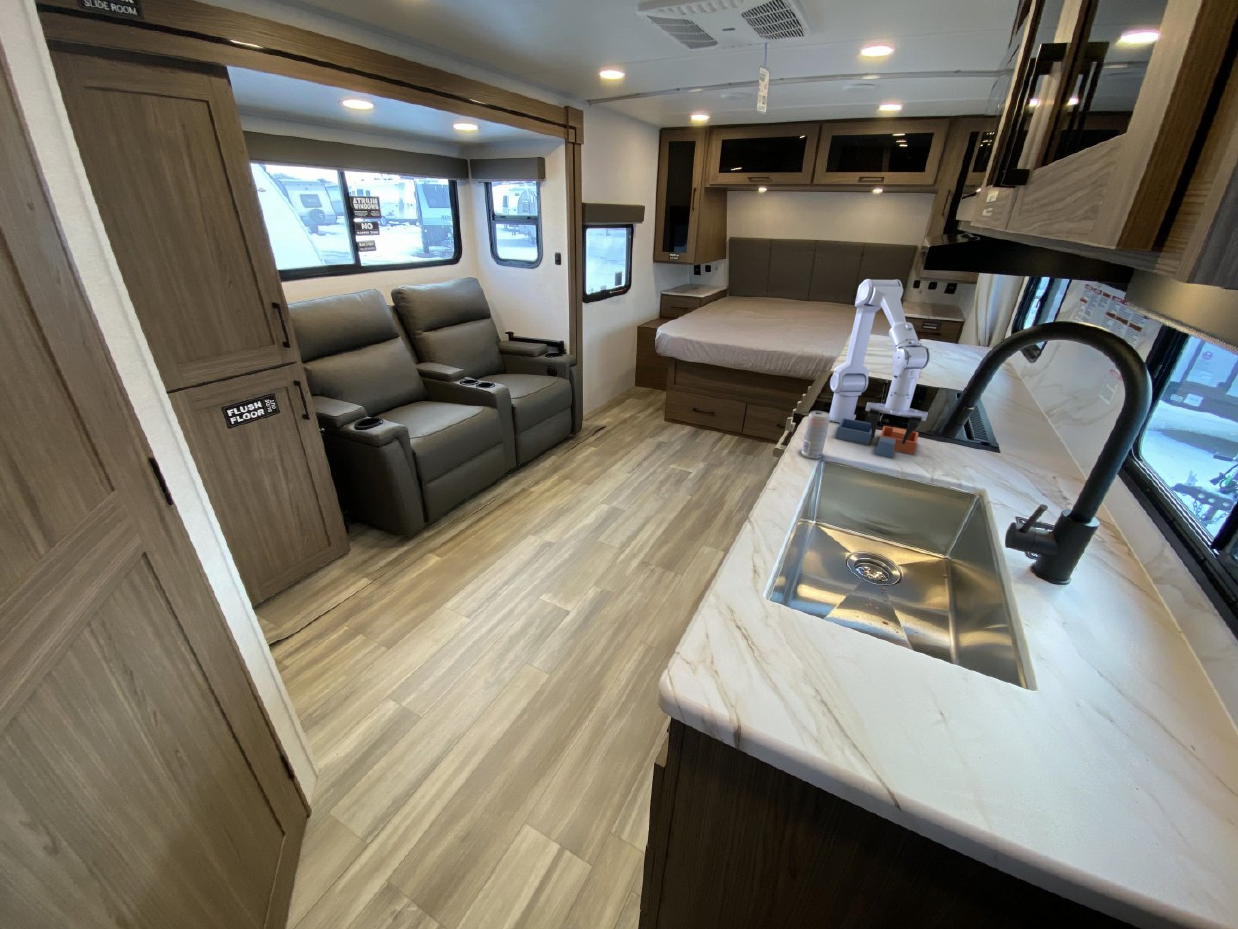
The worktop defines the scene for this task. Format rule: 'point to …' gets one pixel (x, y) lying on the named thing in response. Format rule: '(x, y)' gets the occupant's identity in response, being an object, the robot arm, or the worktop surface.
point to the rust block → (898, 433)
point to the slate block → (885, 446)
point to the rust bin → (909, 443)
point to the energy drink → (815, 434)
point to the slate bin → (854, 431)
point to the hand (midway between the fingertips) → (887, 439)
